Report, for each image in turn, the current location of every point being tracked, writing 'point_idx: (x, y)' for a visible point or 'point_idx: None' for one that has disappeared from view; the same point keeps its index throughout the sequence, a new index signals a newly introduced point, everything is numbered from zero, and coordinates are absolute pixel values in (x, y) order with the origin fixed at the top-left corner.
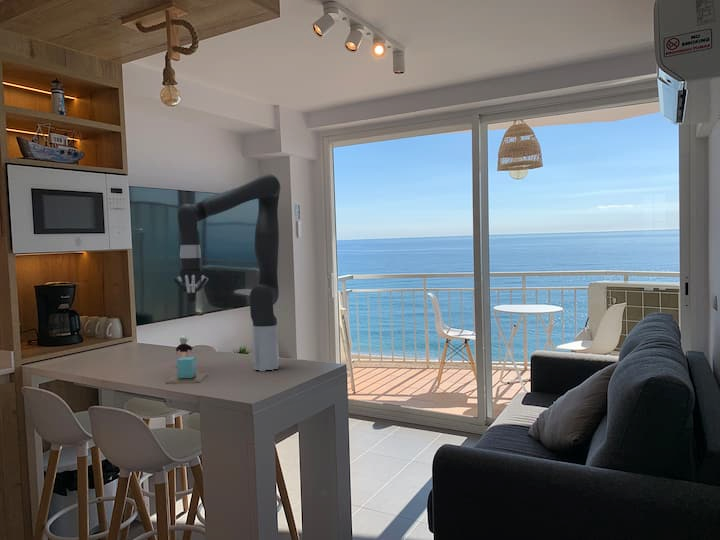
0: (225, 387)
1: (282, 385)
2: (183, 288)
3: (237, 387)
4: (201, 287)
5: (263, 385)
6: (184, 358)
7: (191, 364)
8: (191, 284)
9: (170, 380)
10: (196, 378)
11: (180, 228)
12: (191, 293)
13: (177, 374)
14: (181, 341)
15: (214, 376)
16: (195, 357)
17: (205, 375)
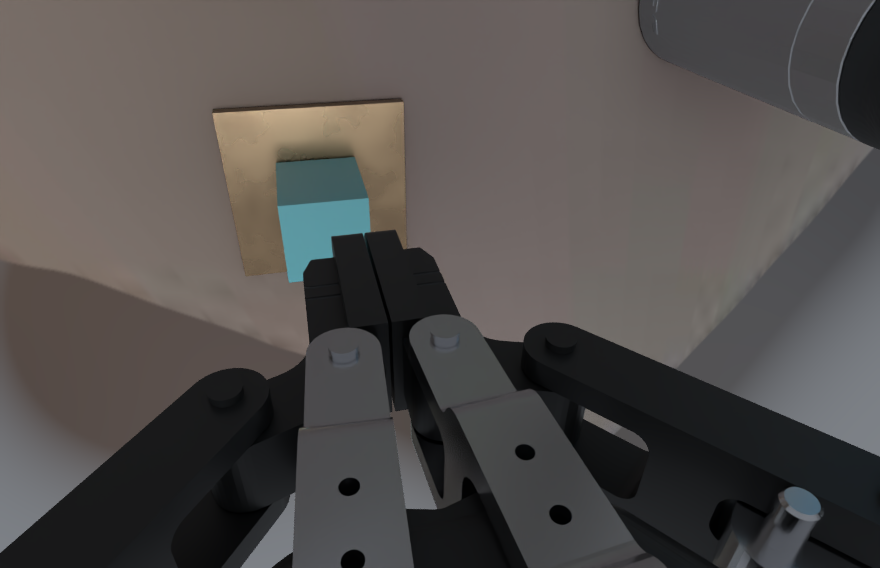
0: (520, 317)
1: (705, 291)
2: (246, 528)
3: (561, 316)
4: (626, 447)
5: (647, 292)
6: (317, 245)
7: None
8: (397, 450)
9: (262, 260)
10: (380, 227)
11: None
12: (398, 404)
13: (236, 136)
14: None
15: (444, 141)
16: (368, 198)
17: (404, 157)
